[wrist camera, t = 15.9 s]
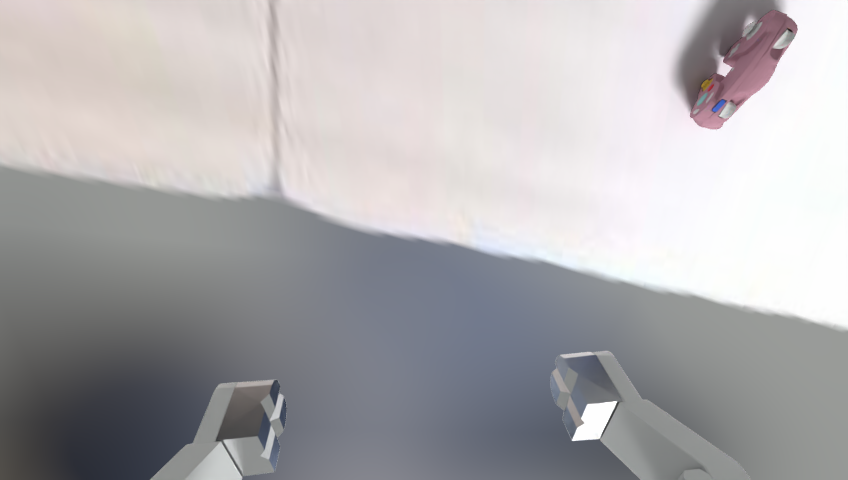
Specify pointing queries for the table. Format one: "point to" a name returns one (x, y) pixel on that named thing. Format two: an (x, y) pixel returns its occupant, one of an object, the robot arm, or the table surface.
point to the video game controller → (744, 69)
